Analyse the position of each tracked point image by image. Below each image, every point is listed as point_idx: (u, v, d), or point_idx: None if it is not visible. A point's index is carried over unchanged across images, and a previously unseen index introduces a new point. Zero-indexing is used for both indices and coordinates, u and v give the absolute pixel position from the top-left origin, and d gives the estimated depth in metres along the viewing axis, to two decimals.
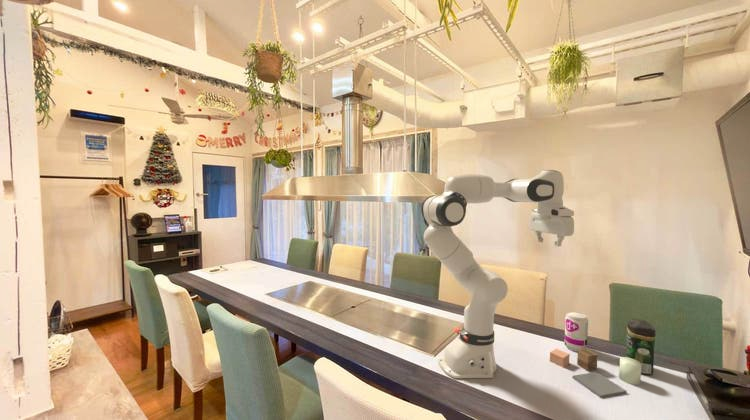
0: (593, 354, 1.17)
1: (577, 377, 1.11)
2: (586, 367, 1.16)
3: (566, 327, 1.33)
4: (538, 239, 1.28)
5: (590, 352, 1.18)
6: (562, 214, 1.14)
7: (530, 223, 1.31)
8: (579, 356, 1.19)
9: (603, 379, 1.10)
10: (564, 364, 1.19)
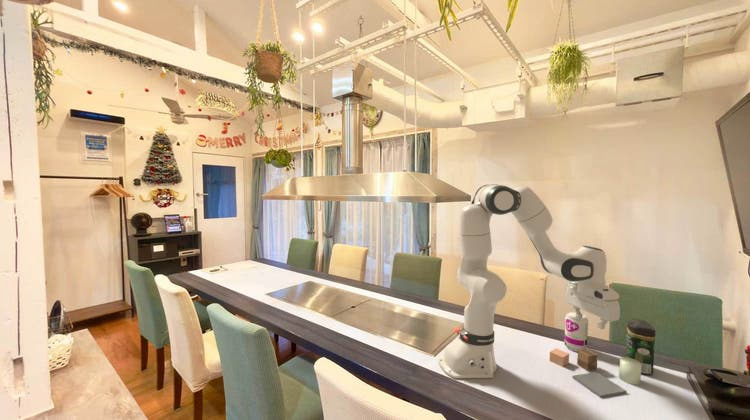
0: (593, 354, 1.17)
1: (577, 377, 1.11)
2: (586, 367, 1.16)
3: (566, 327, 1.33)
4: (577, 315, 1.22)
5: (590, 352, 1.18)
6: (607, 298, 1.08)
7: (568, 297, 1.25)
8: (579, 356, 1.19)
9: (603, 379, 1.10)
10: (564, 363, 1.20)
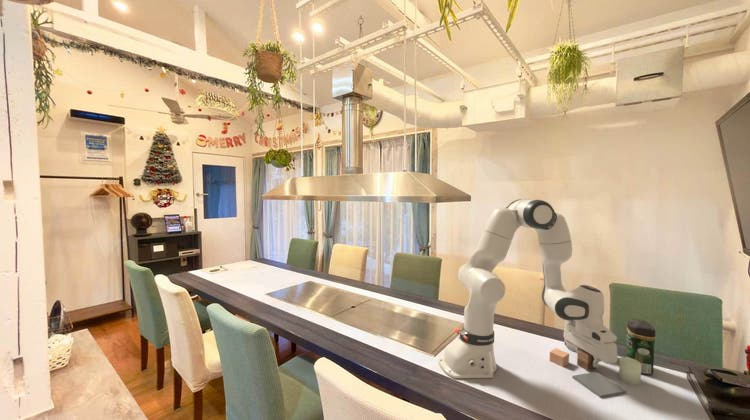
0: None
1: (577, 377, 1.11)
2: (586, 367, 1.16)
3: None
4: None
5: None
6: (605, 341, 1.09)
7: (566, 333, 1.26)
8: (579, 356, 1.19)
9: (603, 379, 1.10)
10: (564, 363, 1.20)
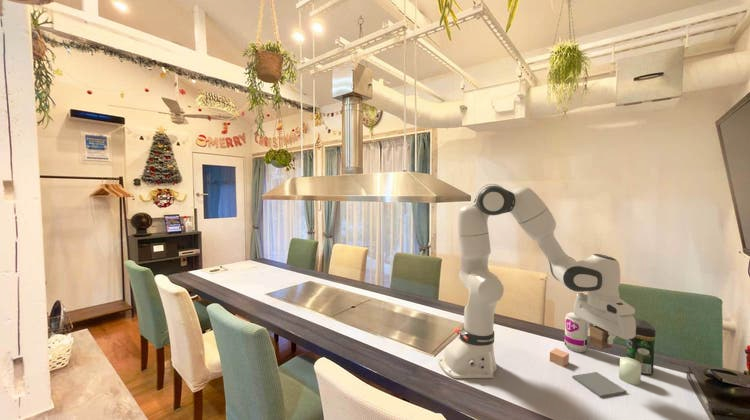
0: None
1: (577, 377, 1.11)
2: (600, 344, 1.05)
3: (566, 327, 1.33)
4: None
5: None
6: (622, 313, 0.97)
7: (576, 309, 1.14)
8: (592, 333, 1.07)
9: (603, 379, 1.10)
10: (564, 363, 1.20)
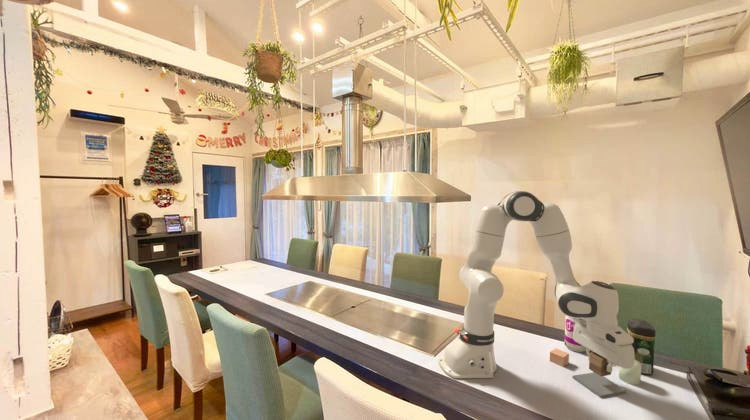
0: None
1: (577, 377, 1.11)
2: (599, 372, 1.05)
3: (566, 327, 1.33)
4: None
5: None
6: (620, 343, 0.98)
7: (575, 335, 1.15)
8: (591, 359, 1.08)
9: (603, 379, 1.10)
10: (564, 363, 1.20)
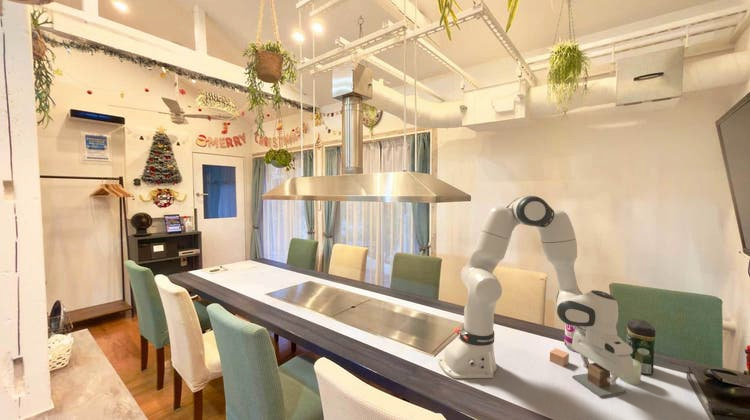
0: (605, 369, 1.06)
1: (577, 377, 1.11)
2: (598, 383, 1.05)
3: (566, 327, 1.33)
4: (585, 365, 1.12)
5: None
6: (619, 353, 0.98)
7: (574, 343, 1.15)
8: (590, 370, 1.08)
9: None
10: (564, 363, 1.20)
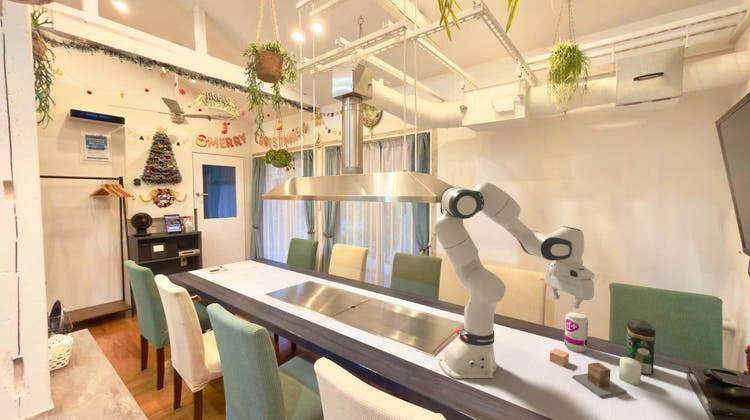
0: (605, 369, 1.06)
1: (577, 377, 1.11)
2: (598, 383, 1.05)
3: (566, 327, 1.33)
4: (554, 296, 1.23)
5: (602, 366, 1.07)
6: (582, 277, 1.09)
7: (546, 278, 1.26)
8: (590, 370, 1.08)
9: None
10: (564, 363, 1.20)
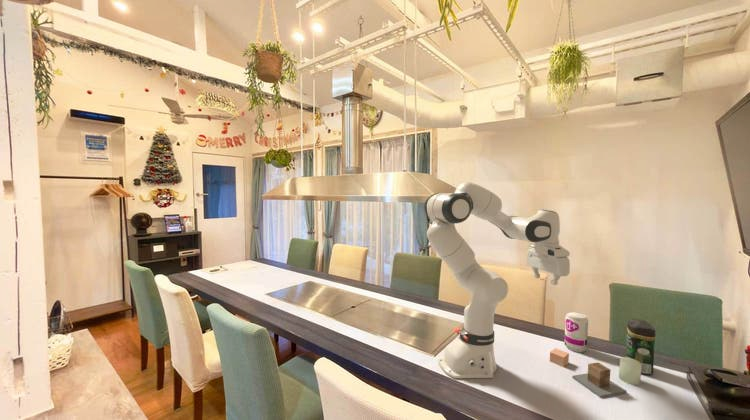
0: (605, 369, 1.06)
1: (577, 377, 1.11)
2: (598, 383, 1.05)
3: (566, 327, 1.33)
4: (535, 275, 1.32)
5: (602, 366, 1.07)
6: (558, 255, 1.18)
7: (527, 259, 1.35)
8: (590, 370, 1.08)
9: None
10: (564, 363, 1.20)
